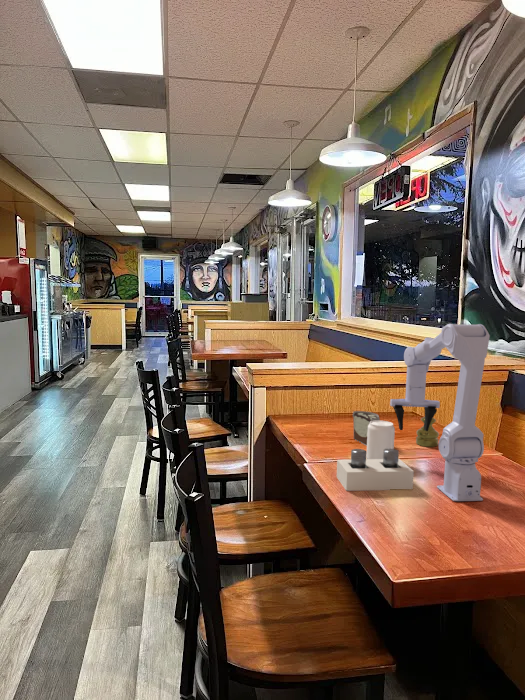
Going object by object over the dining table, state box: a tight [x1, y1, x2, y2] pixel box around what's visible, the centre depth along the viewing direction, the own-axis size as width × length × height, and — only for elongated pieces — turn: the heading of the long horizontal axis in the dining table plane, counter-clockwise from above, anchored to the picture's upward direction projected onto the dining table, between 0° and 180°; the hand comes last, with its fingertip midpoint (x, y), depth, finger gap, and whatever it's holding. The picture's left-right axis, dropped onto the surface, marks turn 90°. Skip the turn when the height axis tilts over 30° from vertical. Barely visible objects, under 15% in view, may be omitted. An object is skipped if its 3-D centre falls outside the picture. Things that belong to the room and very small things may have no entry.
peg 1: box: [350, 448, 367, 469], centre depth 135 cm, size 4×4×4 cm
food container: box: [352, 410, 381, 447], centre depth 174 cm, size 12×6×10 cm, turn 22°
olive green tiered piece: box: [415, 416, 440, 448], centre depth 174 cm, size 7×7×10 cm
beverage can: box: [366, 419, 396, 459], centre depth 154 cm, size 8×8×12 cm
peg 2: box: [383, 448, 400, 468], centre depth 136 cm, size 4×4×4 cm
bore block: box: [336, 458, 415, 492], centre depth 136 cm, size 10×18×5 cm, turn 96°
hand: (413, 429), depth 154 cm, fingers open, 7 cm apart
